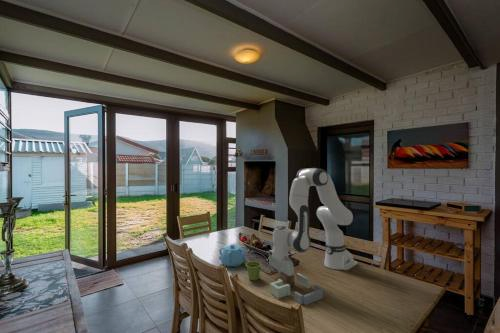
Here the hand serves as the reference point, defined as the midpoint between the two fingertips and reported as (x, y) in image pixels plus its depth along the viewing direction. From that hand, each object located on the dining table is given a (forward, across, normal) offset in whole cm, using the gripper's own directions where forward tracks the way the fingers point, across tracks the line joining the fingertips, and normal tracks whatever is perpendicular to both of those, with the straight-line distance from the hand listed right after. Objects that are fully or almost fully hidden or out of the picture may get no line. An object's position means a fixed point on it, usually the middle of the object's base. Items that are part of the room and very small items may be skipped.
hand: (281, 277), depth 146 cm
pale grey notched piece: (+2, -11, +3) cm, 11 cm away
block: (+2, -5, 0) cm, 6 cm away
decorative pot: (+2, +38, +13) cm, 41 cm away
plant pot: (+2, +12, +12) cm, 17 cm away
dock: (+2, -24, 0) cm, 24 cm away
